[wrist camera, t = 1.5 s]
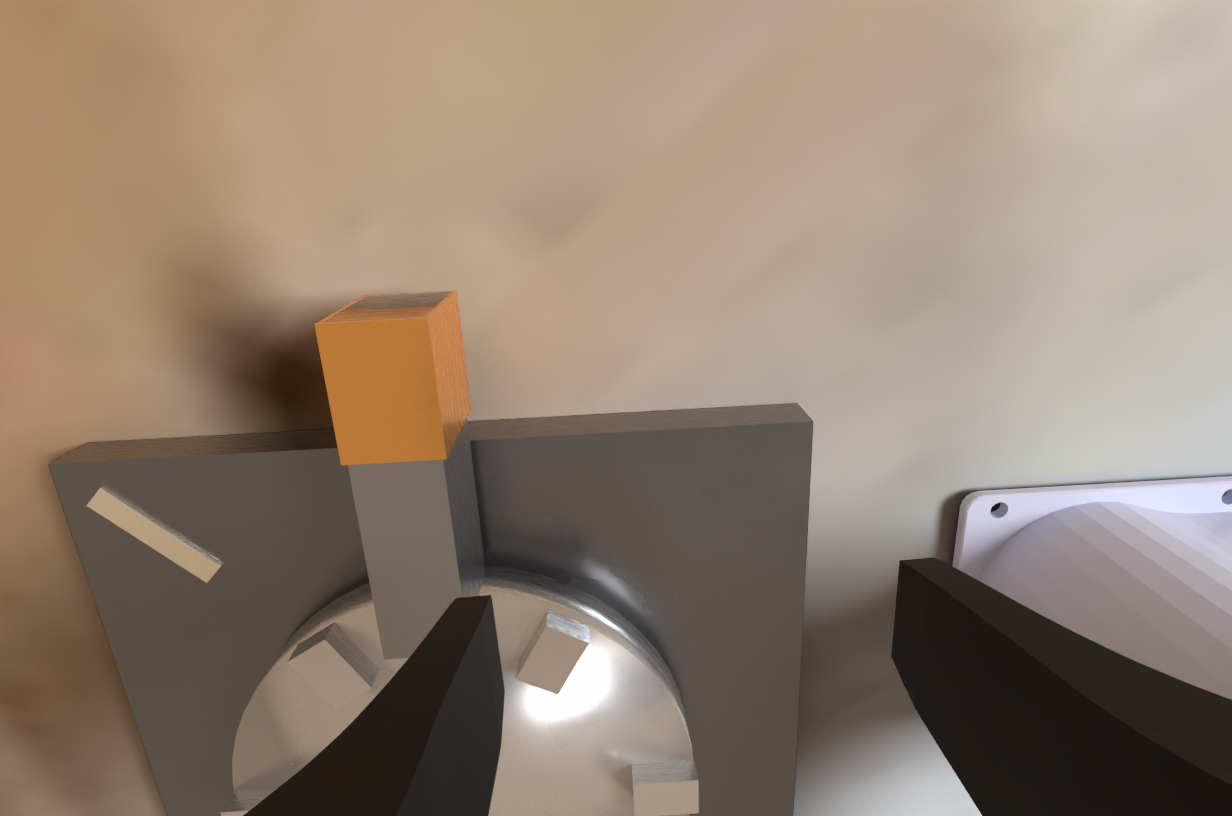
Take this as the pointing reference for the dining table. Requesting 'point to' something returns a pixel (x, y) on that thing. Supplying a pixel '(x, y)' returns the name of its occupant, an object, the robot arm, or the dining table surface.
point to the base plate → (511, 537)
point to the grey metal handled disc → (452, 568)
